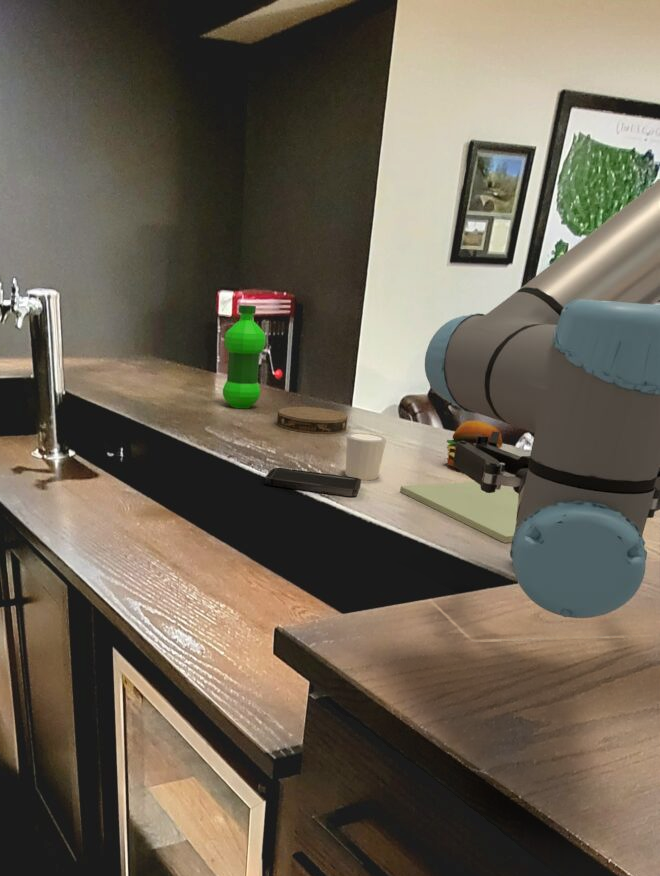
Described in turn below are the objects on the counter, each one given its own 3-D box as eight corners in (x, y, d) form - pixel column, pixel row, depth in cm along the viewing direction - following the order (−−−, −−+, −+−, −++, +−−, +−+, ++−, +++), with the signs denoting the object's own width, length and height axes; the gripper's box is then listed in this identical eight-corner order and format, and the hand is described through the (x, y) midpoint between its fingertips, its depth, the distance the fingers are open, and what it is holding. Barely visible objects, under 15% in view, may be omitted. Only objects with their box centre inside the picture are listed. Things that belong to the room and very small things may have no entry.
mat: (601, 533, 104) (603, 526, 104) (504, 543, 98) (505, 536, 98) (486, 486, 125) (487, 480, 125) (399, 491, 119) (400, 486, 119)
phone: (274, 467, 125) (361, 478, 121) (273, 473, 125) (361, 484, 121) (263, 478, 117) (356, 490, 113) (263, 484, 118) (355, 497, 114)
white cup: (333, 473, 127) (338, 434, 125) (357, 468, 132) (362, 430, 130) (366, 483, 123) (371, 443, 120) (389, 477, 127) (394, 438, 125)
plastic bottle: (268, 407, 186) (276, 307, 178) (241, 411, 179) (249, 307, 171) (239, 401, 193) (246, 304, 185) (212, 405, 185) (218, 304, 177)
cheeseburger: (439, 469, 134) (448, 416, 133) (445, 471, 143) (453, 421, 142) (497, 477, 130) (507, 422, 129) (499, 478, 140) (508, 427, 139)
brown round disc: (316, 417, 177) (317, 405, 176) (360, 431, 164) (362, 418, 163) (263, 421, 169) (264, 408, 168) (305, 435, 156) (307, 422, 155)
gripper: (403, 520, 63) (434, 468, 82) (740, 582, 54) (689, 508, 73) (416, 436, 61) (445, 403, 79) (771, 486, 52) (710, 435, 70)
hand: (562, 453), depth 76 cm, fingers open, 13 cm apart
